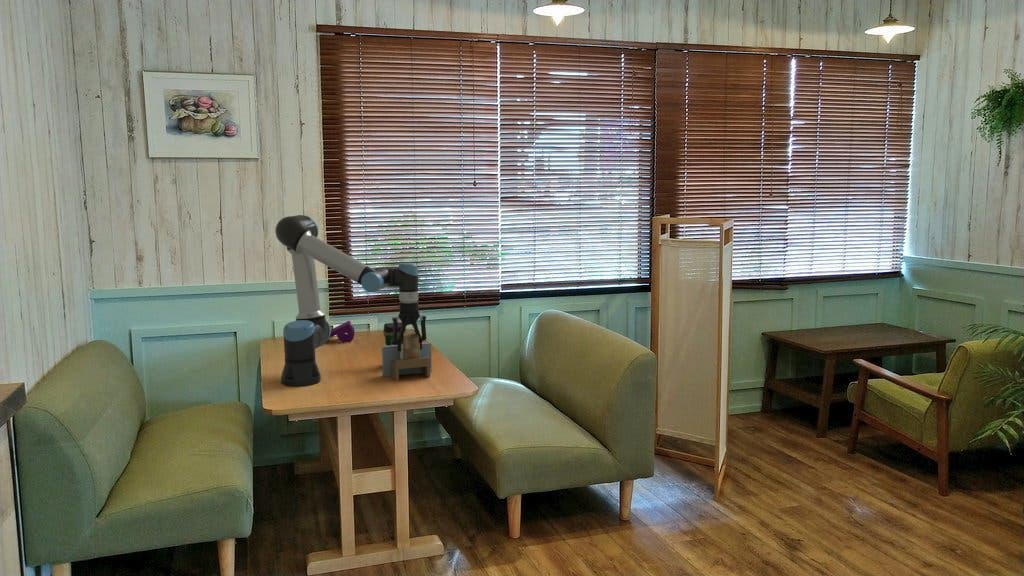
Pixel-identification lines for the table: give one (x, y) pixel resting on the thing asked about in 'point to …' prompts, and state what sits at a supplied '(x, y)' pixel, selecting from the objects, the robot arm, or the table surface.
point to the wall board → (405, 362)
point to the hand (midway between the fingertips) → (409, 358)
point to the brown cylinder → (410, 345)
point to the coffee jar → (391, 333)
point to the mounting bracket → (343, 332)
